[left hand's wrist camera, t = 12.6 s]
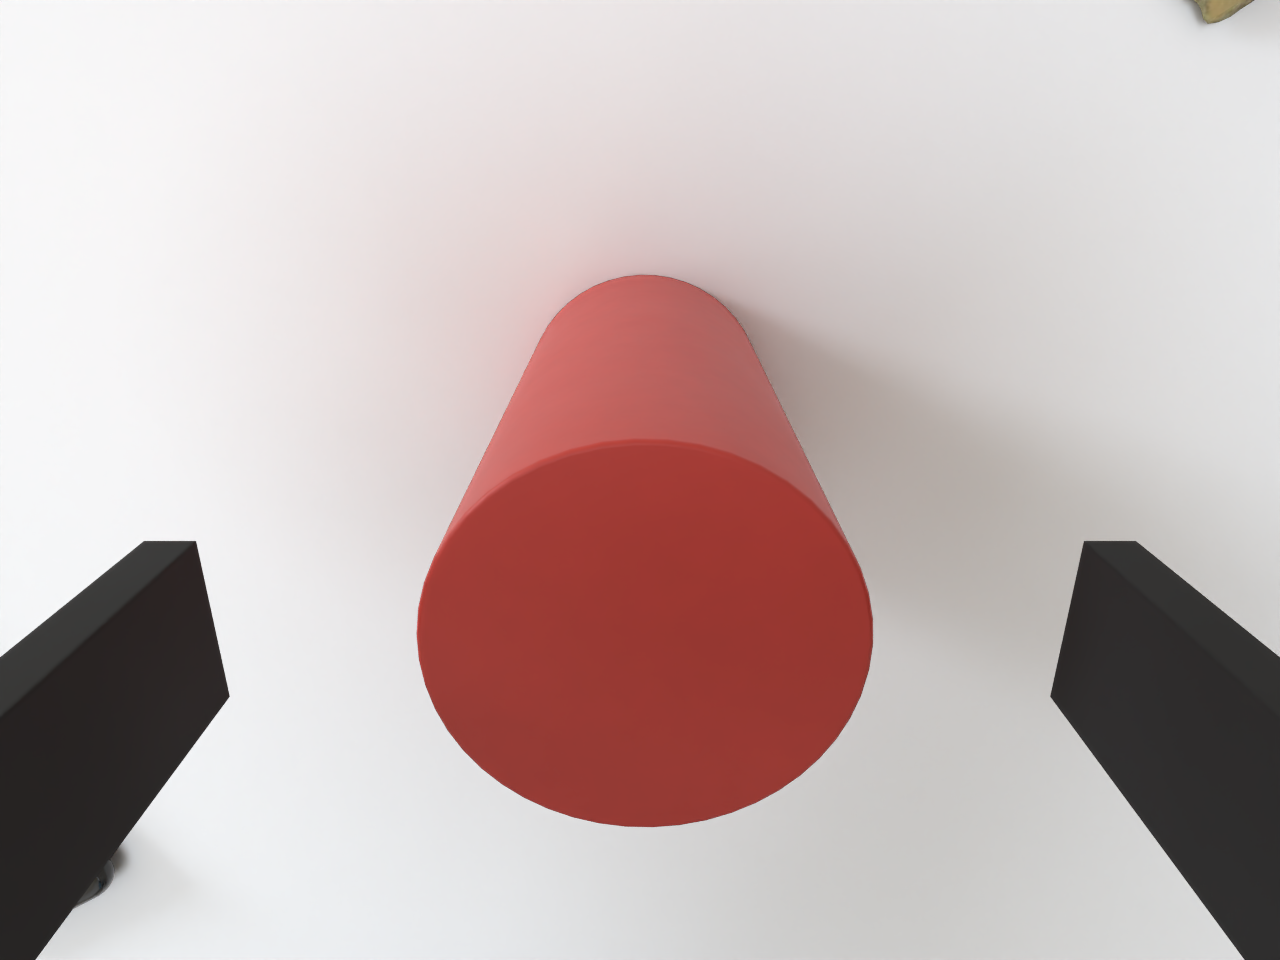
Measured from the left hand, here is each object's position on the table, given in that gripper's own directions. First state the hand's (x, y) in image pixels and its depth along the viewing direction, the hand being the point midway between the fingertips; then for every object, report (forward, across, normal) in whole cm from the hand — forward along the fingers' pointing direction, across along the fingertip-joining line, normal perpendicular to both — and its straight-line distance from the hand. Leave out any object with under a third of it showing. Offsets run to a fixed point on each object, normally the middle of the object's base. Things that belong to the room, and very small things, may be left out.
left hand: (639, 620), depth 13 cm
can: (+11, 0, 0) cm, 11 cm away
